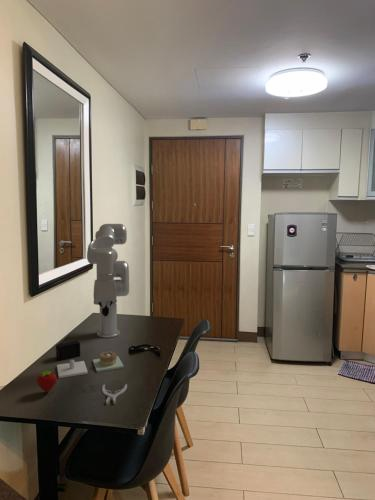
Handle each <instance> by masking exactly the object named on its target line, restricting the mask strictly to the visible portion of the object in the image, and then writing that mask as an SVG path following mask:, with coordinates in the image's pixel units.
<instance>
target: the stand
mask: <svg viewBox="0 0 375 500" xmlns="http://www.w3.org/2000/svg"><path fill="white" fill-rule="evenodd" d="M56 367H57V369H56V370H57V376H58V379H64V378H68V377H69V378H70V377H75V376H81V375H88V374H89V373H88V368H87V366H86V363H85V360H80V361H75V359H69V363H68V362H65V363H61V364H56Z"/></svg>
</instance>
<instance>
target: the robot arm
mask: <svg viewBox="0 0 375 500" xmlns="http://www.w3.org/2000/svg"><path fill="white" fill-rule="evenodd" d="M127 232H128V231H127V228H126V226H125V225H124V224H122V223H103V224H101V225H100V226H99V229H98V230H97V231H96V232H95V234H94V235H95V236H94V237H95V239H94V240H92V241H91V242H90V243H88V246H87V251H86V259H87V262H88V263H89V264H91V265H95V266H96V279H95V280H94V281H93V282H94V283H93V305H96V306H97V305H98V306H99V330H98V331H97V333H96V335H97V337H99V338H106V339H108V338H115V337H118V336H119V335H120V330H119V329H118V318H117V317H118V314H117V312H118V311H117V309H118V308H117V307H118V306H117V302H118V300H117V297H126V296H128V295H129V293H130V269H129V264H128V262H127V261H125V260H118V257H119V256H118V251H117V250H116V249H115V248H113V247H114V246H115V245H125V244H126V243H127V240H128V239H127V237H128V236H127V234H128V233H127ZM115 278H120V279H115Z"/></svg>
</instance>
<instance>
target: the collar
mask: <svg viewBox="0 0 375 500" xmlns="http://www.w3.org/2000/svg"><path fill="white" fill-rule="evenodd" d="M106 354H110V356H106ZM116 356H117V354H116V352H115V351H111V350H109V351H103V352H101V353H100V354H99V359H100V364H101V365H103V366H111V365H114V364H115V363H116Z"/></svg>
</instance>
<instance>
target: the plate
mask: <svg viewBox="0 0 375 500" xmlns="http://www.w3.org/2000/svg"><path fill="white" fill-rule="evenodd" d="M106 356H110V354H106ZM92 363H93V366H94V368H95V371H96V373H101V372H108V371H115V370H120V369H124V368H125V366H124V364H123V362H122V360H121V359H120V356H118V355H116V363H115V364H114V365H111V366H103V365H101V364H100V358H95V359H92Z"/></svg>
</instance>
